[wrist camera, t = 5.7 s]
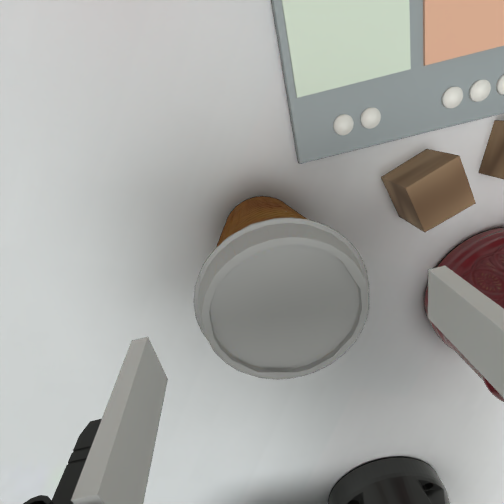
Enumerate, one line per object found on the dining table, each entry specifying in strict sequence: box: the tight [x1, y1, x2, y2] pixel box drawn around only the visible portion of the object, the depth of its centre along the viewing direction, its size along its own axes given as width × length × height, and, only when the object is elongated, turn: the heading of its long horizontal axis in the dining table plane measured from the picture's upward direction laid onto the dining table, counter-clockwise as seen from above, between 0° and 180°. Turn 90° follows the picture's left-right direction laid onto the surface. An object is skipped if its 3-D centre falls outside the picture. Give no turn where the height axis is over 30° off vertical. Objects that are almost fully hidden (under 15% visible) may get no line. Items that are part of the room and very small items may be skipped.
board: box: [271, 0, 504, 164], centre depth 22 cm, size 14×18×1 cm
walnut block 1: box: [381, 149, 475, 232], centre depth 25 cm, size 4×4×4 cm
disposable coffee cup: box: [194, 196, 369, 379], centre depth 22 cm, size 10×10×12 cm
